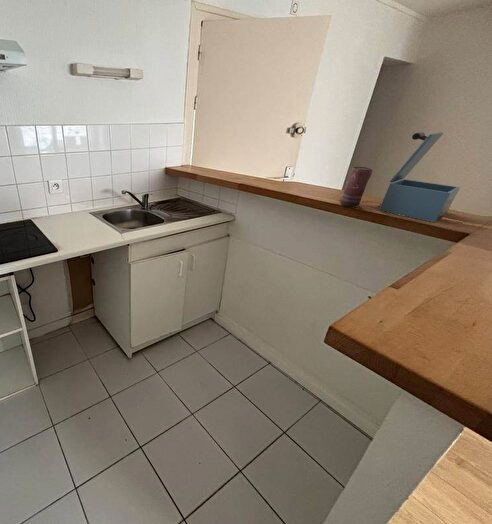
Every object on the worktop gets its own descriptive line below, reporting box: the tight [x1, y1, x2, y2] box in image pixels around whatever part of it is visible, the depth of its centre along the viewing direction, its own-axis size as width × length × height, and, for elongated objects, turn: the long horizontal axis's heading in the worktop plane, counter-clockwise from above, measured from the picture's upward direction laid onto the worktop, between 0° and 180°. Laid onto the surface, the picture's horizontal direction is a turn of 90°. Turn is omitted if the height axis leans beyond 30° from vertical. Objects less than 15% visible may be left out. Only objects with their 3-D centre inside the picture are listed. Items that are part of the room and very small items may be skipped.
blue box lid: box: [389, 131, 444, 184], centre depth 97 cm, size 16×13×5 cm
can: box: [339, 166, 373, 208], centre depth 106 cm, size 6×6×14 cm
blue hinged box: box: [378, 178, 461, 223], centre depth 99 cm, size 16×13×10 cm
